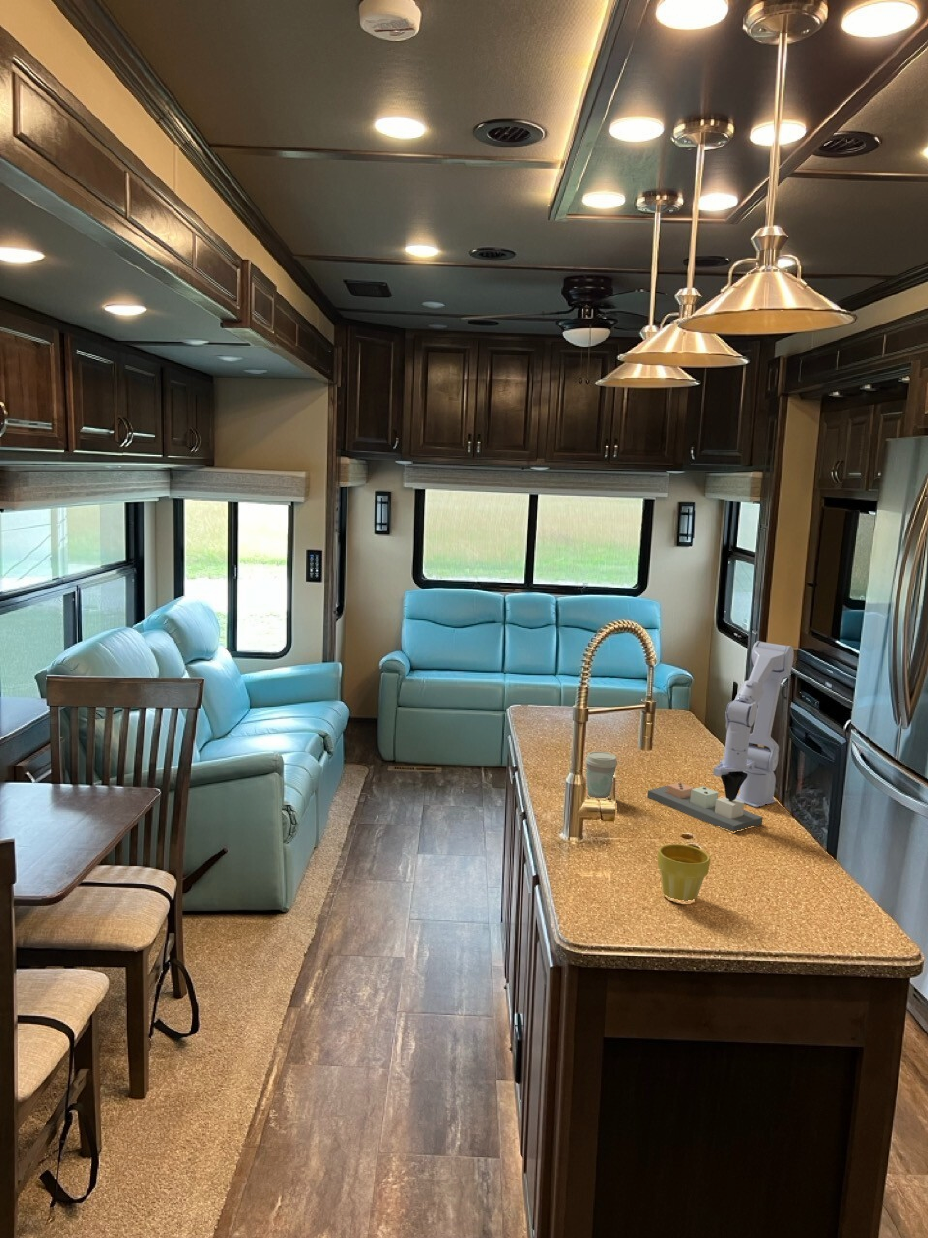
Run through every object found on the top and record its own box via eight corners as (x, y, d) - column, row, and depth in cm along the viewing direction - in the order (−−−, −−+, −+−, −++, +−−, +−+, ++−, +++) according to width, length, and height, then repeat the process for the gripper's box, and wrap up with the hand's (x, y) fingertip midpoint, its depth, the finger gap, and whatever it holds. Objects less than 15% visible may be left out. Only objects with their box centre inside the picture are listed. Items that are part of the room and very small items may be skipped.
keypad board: (676, 790, 254) (676, 783, 253) (761, 824, 232) (762, 817, 231) (647, 797, 246) (648, 790, 246) (733, 833, 224) (734, 826, 224)
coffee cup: (577, 799, 241) (581, 756, 239) (588, 790, 249) (592, 748, 247) (607, 806, 237) (612, 763, 235) (618, 797, 245) (622, 754, 243)
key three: (677, 796, 249) (679, 781, 248) (692, 802, 245) (693, 787, 244) (665, 799, 246) (667, 784, 245) (680, 805, 242) (681, 790, 241)
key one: (726, 810, 236) (728, 795, 235) (742, 817, 232) (744, 801, 231) (714, 814, 233) (716, 798, 232) (730, 820, 229) (732, 804, 228)
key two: (701, 800, 242) (703, 785, 242) (717, 806, 238) (718, 791, 238) (689, 803, 239) (691, 788, 239) (705, 810, 235) (706, 794, 235)
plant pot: (668, 881, 195) (672, 838, 193) (713, 898, 189) (718, 854, 187) (645, 897, 187) (649, 852, 185) (691, 914, 181) (696, 868, 179)
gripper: (740, 740, 237) (734, 789, 239) (705, 747, 228) (699, 798, 230) (763, 747, 232) (757, 798, 234) (729, 755, 223) (722, 807, 225)
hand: (730, 798), depth 232 cm, fingers closed
